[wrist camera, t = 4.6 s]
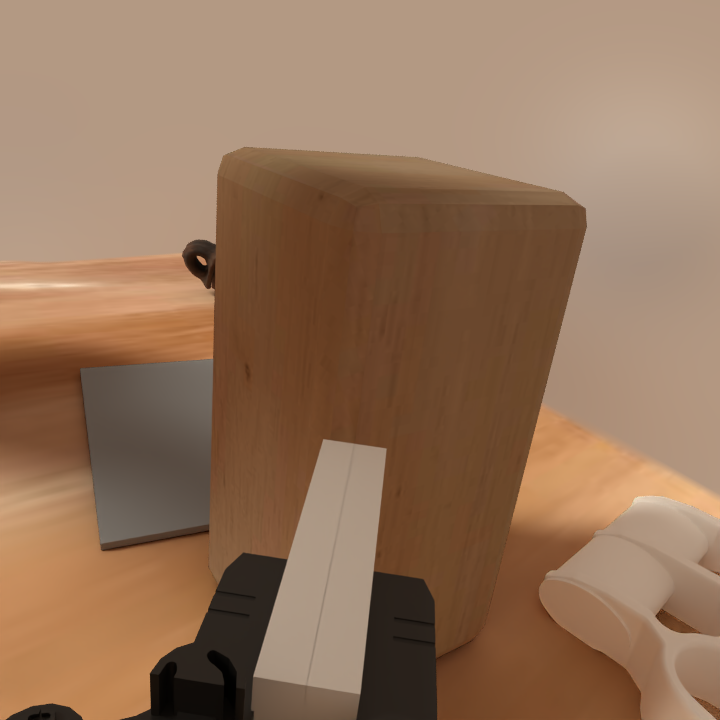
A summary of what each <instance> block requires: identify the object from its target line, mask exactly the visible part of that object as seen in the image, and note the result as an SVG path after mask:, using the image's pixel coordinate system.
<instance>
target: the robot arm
mask: <svg viewBox="0 0 720 720" xmlns="http://www.w3.org/2000/svg"><path fill="white" fill-rule="evenodd" d="M386 450H387V449H386V448H380V447H373V446H366V445H359V444H353V443H346V442H339V441H332V440H326V439H323V442H322V446H321V449H320V452H319V456H318V459H317V463H316V466H315V469H314V473H313V476H312V479H311V483H310V486H309V490H308V493H307V496H306V500H305V503H304V507H303V510H302V513H301V517H300V520H299V523H298V527H297V530H296V534H295V537H294V540H293V544H292V547H291V550H290V554H289V557H288V559H282V558H276V557H269V556H263V555H256V554H250V553H244V552H243V553H242V554H241V555H240V556H239V557H238V558H237V559H236V560H234V561H233V562H232V563H231V564H230V565H229V566H228V567H227V568H226V569H225V570H224V573H223V575H222V578H221V580H220V582H219V585H218V587H217V589H216V593H215V595H214V596H213V599H212V601H211V603H210V606H209V609H208V613H206V615H205V618H204V620H203V622H202V625H201V627H200V629H199V632H198V634H197V637H196V639H195V641H194V643H191V644H188V645H184V646H181V647H178V648H176V649H174V650H173V651H171V652H170V653H168V654H167V655H165V656H164V657H163V658H161V659H160V660H159V662H158V663H157V665H156V666H155V667H154V669H153V670H152V671H151V673H150V692H151V709H150V710H147V711H145V712H143V713H141V714H139V715H137V716H133V717H129V718H125V719H121V720H437V689H436V648H435V643H436V641H435V600H434V598H433V596H432V595H431V593H430V591H429V589H428V587H427V585H426V583H425V581H424V579H420V578H414V577H408V576H401V575H395V574H388V573H382V572H376V571H374V562H375V553H376V544H377V534H378V525H379V516H380V506H381V497H382V488H383V478H384V469H385V460H386ZM6 720H83V719H82V717H81V716H80V715H79V714H77V713H76V712H75V711H74V710H72V709H71V708H70V707H66V706H61V705H57V704H45V705H38V706H32V707H29V708H27V709H25V710H23V711H20V712H18V713H16V714H13V715H11V716H10V717H9V718H8V719H6Z"/></svg>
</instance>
